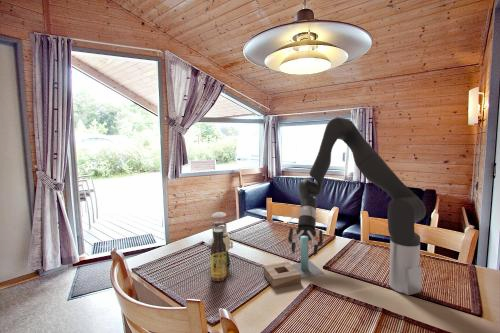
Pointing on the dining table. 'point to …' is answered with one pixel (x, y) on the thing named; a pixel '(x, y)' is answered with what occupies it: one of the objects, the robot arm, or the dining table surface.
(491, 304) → the dining table surface
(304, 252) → the peg
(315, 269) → the mat
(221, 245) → the sauce bottle
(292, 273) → the socket block
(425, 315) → the dining table surface
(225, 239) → the character mug
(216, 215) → the french press
